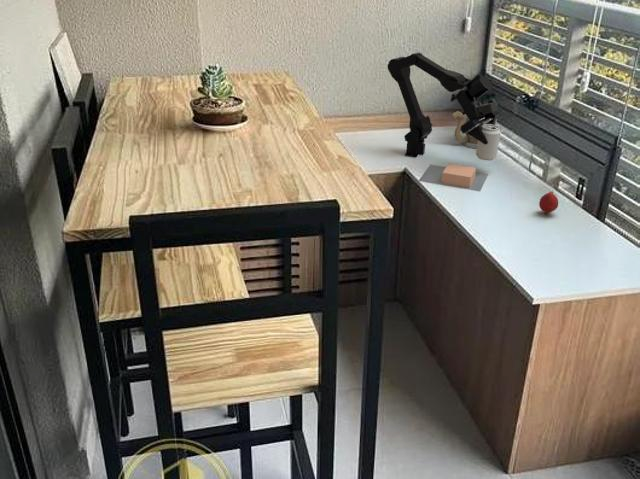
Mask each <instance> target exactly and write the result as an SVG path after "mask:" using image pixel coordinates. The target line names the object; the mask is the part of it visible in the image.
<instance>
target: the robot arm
mask: <svg viewBox="0 0 640 479" xmlns="http://www.w3.org/2000/svg"><path fill="white" fill-rule="evenodd" d="M413 66H414V67H416V68H418V69H420V70H422V71H423V72H425V73H426V74H428V75H430V76H431V77H433V78H434V79H436V80H437V81H439V83H440V85H441V86H442V87H443V88H444V90H446V91H447V92H450V93H452V94H451V98H450V102H455V101H457V103H458V105H459V106H460V108H461V110H462V112H461V113H462V114H463V115H465V114H466V116H467V118H468V119H469V121H467V122H466V121H465V122H464V124H463V125H462V126H461V128H460V130H461V132H460V133H462V135H464V134H465V133H466V132H468V131H469V132H468V133H466V134H467V135H470V136H472V137H474V138H476V139H477V140H479V141H480V142H482V143H484V144H485V145H486V144H488V142H487V139H486V137H485V135H484V133H483V131H482V124H483V125H484V124H493V125H495V121H496V119H497V120H498V117H499V113H498V107H499V102H497V100H495V98H492V99H488V101H487V103H484V104H482V102H481V101H477V100H476V99H479V98H481V97H482V96H483V95H485V94H487V93H488V92H489V91H490V90H492V88H493V86H492V83H491V81H490V79H488V78H487V77H486V76H484V75H483V74H482V73H478V74H476V75H475V77H474V78H473V79H470V78H467V77H465V75H464V74H462V73H459V72H457V71H454V70H449V69H446V68H444V67H443V66H441V65H440V64H438V63H436V62H435V61H433V60H431V59H430V58H428V57H426V56H425V55H423V54H422V53H421V52H415V53H412V54H409V55H407V56H399V57H395V58H391V59H390V60H389V61H388V64H387V70H388V72H389V74H390V76H391V78H392V79H394V81H395V82H396V83H397V84H398V87H399V90H400V93H401V95H402V99H403V101H404V104H405V107H406V110H407V113H408V116H409V126H408V127H409V131H408V132H407V133H406V134H404V136H403V137H404V141H405V142H406V150H405V154H404V156H407V157H412V158H417V157H418V156H423V155H425V154H426V153H425V151H426V143H425V140H427V139H428V136H430V134H431V133H432V131H433V127H432V126H433V123H432V122H431V118H430V116H429V115H427V116H426V115H425V114H424V113H423V112H422V108H421V107H420V106H421V105H420V103H419V101H418V98H417V95H416V92H415V90H414V89H415V88H414V86H413V84H412V81H411V67H413ZM465 88H466V89H465ZM457 91H458V92H457ZM480 123H481V124H480ZM479 124H480V125H479ZM466 134H465V135H466Z"/></svg>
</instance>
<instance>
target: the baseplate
mask: <svg viewBox="0 0 640 479" xmlns="http://www.w3.org/2000/svg"><path fill="white" fill-rule="evenodd" d="M446 167H447V166H442V165H437V164H429V165H428V167H427V168H426V170H425V171H424V172H423V173H422V175H421V177H420V178H419V179H418V182H422V183H423V182H424V183H429V184H435V185H439V186H440V185H441V186H445V187H452V188H458V189H464V190H470V191H475V192H481V190H482V189H483V186H484V184H485V182H486V181H487V179H488V176H489V173H487V172H486V173H485V172H480V171H476V172H475V178H474V180H473V182H472V184H471V186H470V188H467V187H461V186H455V185H449V184H444V183H441V181H442V173H443V171H444V170H445V168H446Z"/></svg>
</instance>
